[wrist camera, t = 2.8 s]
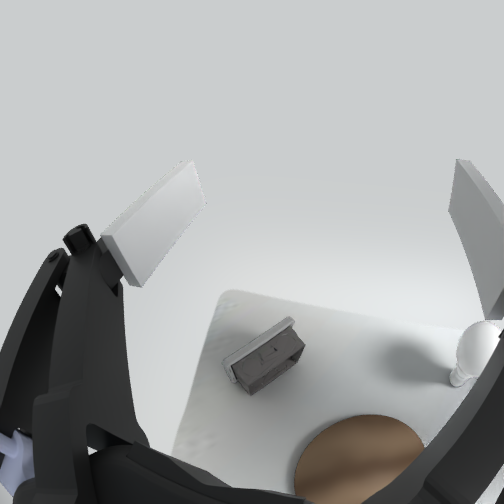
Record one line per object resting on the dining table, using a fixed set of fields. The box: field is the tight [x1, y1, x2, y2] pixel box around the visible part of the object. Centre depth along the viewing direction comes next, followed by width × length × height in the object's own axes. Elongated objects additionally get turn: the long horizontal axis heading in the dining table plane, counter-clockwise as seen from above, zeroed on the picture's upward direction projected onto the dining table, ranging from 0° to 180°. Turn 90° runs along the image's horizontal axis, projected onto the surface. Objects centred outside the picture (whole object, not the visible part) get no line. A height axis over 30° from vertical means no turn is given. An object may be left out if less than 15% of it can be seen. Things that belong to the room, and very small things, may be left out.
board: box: [294, 415, 424, 504], centre depth 21 cm, size 15×15×1 cm
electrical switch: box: [222, 316, 305, 395], centre depth 31 cm, size 9×5×9 cm, turn 124°
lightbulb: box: [450, 321, 502, 387], centre depth 22 cm, size 6×6×11 cm
